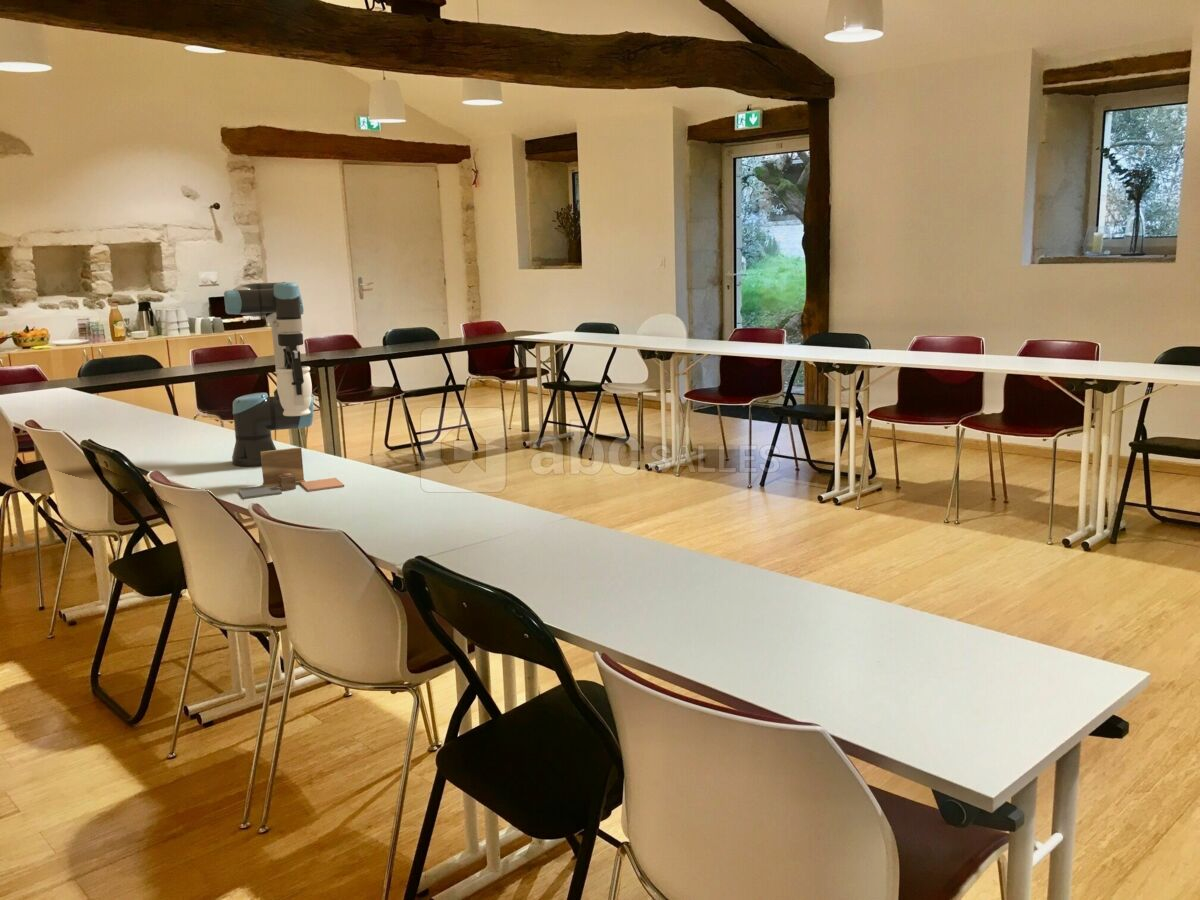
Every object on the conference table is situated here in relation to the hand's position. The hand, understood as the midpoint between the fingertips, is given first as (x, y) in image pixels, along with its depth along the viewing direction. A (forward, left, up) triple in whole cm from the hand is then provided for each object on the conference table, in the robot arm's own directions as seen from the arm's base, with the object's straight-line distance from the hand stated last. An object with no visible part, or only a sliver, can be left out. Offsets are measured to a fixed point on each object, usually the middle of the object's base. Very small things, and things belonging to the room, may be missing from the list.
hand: (296, 402), depth 316 cm
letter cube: (+14, -7, -24) cm, 29 cm away
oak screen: (+8, -7, -24) cm, 26 cm away
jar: (0, 0, -4) cm, 4 cm away
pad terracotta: (+16, +3, -24) cm, 29 cm away
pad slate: (+14, -16, -24) cm, 32 cm away
